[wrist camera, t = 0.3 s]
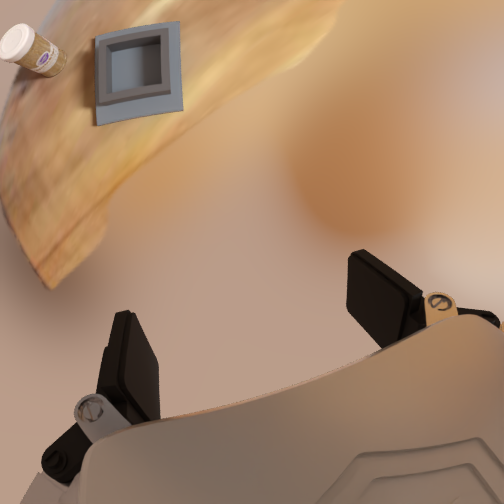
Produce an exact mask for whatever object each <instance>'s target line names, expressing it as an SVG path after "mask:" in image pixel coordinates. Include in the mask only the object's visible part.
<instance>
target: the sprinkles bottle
mask: <svg viewBox="0 0 504 504" xmlns="http://www.w3.org/2000/svg"><path fill="white" fill-rule="evenodd" d="M0 59H2V60H4V61H6V62H9V63H12V62H14V63H16V64H18V65H21V66H23V67H26V68H28V69H30V70H32V71H35V72H37V73H41V74H43V75H44V76H46V77H52V76H55V75H56V74H58V73H59V72H60V71H61V70H62V69H63V68H64V66H65V63H66V54H65V52H64V51H63V50H60V49H58V48H57V47H56V46H55V45H54V44H52V43H51V42H49V41H48V40H46V39H45V38H44V37H42V36H40V35H38V34H37V33H35V32H34V30H33V29H32V28H31V27H29V26H28V25H26V24H18V25H15V26H14V27H12V28H11V29H9V30H8V31H7V33H6V34H5V35H4V36H3V38H2V39H1V41H0Z"/></svg>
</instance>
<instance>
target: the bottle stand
mask: <svg viewBox="0 0 504 504" xmlns="http://www.w3.org/2000/svg"><path fill="white" fill-rule="evenodd" d="M95 100H96V117H97V126H101V125H105V124H110V123H114V122H119V121H124V120H129V119H134V118H139V117H145V116H151V115H157V114H163V113H171V112H178V111H183V98H182V80H181V57H180V21H175V22H166V23H158V24H151V25H145V26H139V27H134V28H128V29H124V30H119V31H115V32H110V33H106V34H102V35H99V36H96V40H95Z"/></svg>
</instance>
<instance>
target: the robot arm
mask: <svg viewBox="0 0 504 504" xmlns="http://www.w3.org/2000/svg"><path fill="white" fill-rule="evenodd" d="M422 293H423V291H422V290H420V289H419V288H418V287H416V286H415V285H414V284H412V283H411V282H409V281H408V280H407V279H406V278H404V277H403V276H401V275H400V274H399V273H397V272H396V271H394V270H393V269H392V268H390V267H389V266H388V265H386V264H384V263H383V262H382V261H380V260H379V259H378V258H376V257H375V256H373V255H372V254H370V253H369V252H367V251H366V250H364V249H362V250H358V251H355V252H352V253H351V256H349V258H348V280H347V301H346V307H347V310H348V312H349V313H350V314H351V315H352V316H353V317H354V319H356V321H357V322H358V323H359V324H360V325H361V326H362V327H363V328H364V329H365V330H366V332H367V333H368V334H369V335H370V336H371V337H372V338H373V339H374V340H375V342H376V343H377V344H378V345H379V346H380V347H381V348H382V349H381V350H378V351H376V352H374V353H372V354H370V355H368V356H365V357H363V358H361V359H359V360H356V361H354V362H352V363H350V364H347V365H345V366H342V367H340V368H337V369H335V370H332V371H330V372H327V373H325V374H322V375H320V376H317V377H314V378H312V379H309V380H306V381H303V382H301V383H298V384H295V385H292V386H289V387H286V388H283V389H280V390H277V391H274V392H270V393H267V394H264V395H261V396H257V397H254V398H250V399H247V400H243V401H240V402H236V403H232V404H228V405H224V406H220V407H216V408H211V409H207V410H203V411H199V412H194V413H189V414H184V415H180V416H175V417H169V418H164V419H161V418H160V400H159V399H160V398H159V366H158V361H157V358H156V356H155V355H154V353H153V350H152V348H151V346H150V344H149V342H148V341H147V338H146V336H145V334H144V332H143V330H142V328H141V325H140V323H139V321H138V319H137V316H136V314H135V313H131V312H130V311H129V310H126V311H122V312H117V313H116V314H115V317H114V321H113V325H112V330H111V334H110V338H109V343H108V346H107V347H105V349H104V353H103V357H102V362H101V368H100V372H99V378H98V384H97V389H96V394H90V395H87V396H85V397H83V398H82V399H81V400H80V401H79V402H78V403H77V405H76V406H75V409H74V417H75V420H76V421H77V422H76V423H75V424H74V425H73V426H72V427H71V428H70V429H69V430H67V431H66V432H65V433H64V434H63V435H62V436H61V437H59V438H58V439H57V440H56V441H55V442H54V443H53V444H52V445H51V446H49V447H48V448H47V449H46V450H45V452H44V454H43V456H42V461H41V464H42V468H43V472H42V473H39V472H38V473H37V475H36V477H35V478H34V480H33V482H32V483H31V485H30V487H29V489H28V490H27V492H26V494H25V495H24V497H23V499H22V501H21V503H20V504H504V322H502V324H500V321H499V319H498V317H497V316H496V315H494V314H493V313H492V312H490V311H484V310H475V309H465V308H458V307H456V303H455V301H454V299H453V298H452V297H450V296H449V295H447V294H445V293H441V292H433V293H430V294H428V295H427V296H426V297H425V298H424V297H422Z"/></svg>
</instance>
